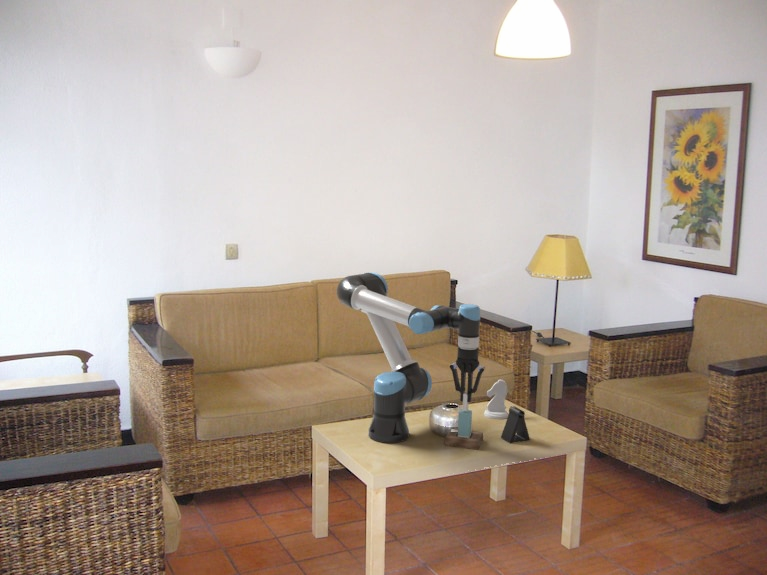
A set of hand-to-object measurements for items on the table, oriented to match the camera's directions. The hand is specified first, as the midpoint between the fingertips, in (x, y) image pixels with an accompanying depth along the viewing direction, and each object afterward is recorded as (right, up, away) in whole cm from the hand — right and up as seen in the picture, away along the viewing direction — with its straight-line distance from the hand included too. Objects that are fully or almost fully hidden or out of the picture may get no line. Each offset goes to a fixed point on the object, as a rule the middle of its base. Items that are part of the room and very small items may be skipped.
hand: (465, 410), depth 287 cm
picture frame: (+19, -12, +7) cm, 24 cm away
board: (0, -12, +2) cm, 12 cm away
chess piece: (+16, -8, +34) cm, 39 cm away
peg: (0, -12, +2) cm, 13 cm away
